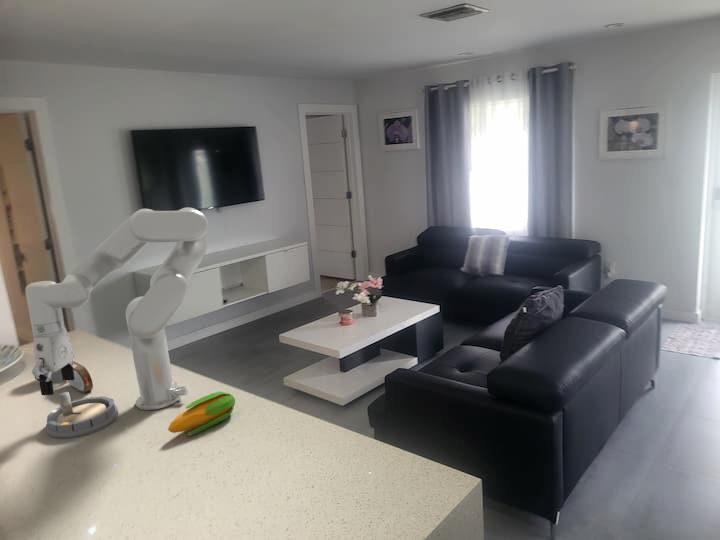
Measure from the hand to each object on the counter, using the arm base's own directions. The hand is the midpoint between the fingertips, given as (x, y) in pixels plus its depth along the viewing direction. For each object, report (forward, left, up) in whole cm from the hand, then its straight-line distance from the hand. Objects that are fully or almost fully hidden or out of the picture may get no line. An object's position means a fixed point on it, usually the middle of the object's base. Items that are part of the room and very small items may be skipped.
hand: (58, 387), depth 151 cm
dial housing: (-5, 0, -11) cm, 12 cm away
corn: (-41, +5, -11) cm, 43 cm away
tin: (+9, -23, -11) cm, 28 cm away
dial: (-5, 0, -9) cm, 10 cm away
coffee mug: (+21, -33, -11) cm, 41 cm away
